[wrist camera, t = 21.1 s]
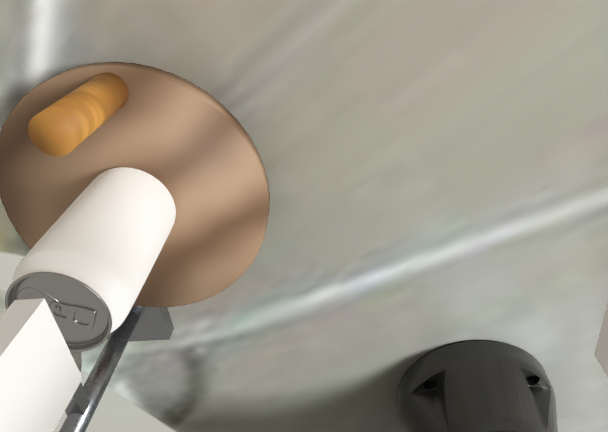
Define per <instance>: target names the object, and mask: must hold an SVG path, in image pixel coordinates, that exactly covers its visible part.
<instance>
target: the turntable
mask: <svg viewBox="0 0 608 432" xmlns="http://www.w3.org/2000/svg"><path fill="white" fill-rule="evenodd" d="M119 167H128V168H134V169H138V170H141V171H144V172H146V173H148V174H150V175H152V176H153V177H155V178H156V179H158V180H159V181H160V182H161V183H162V184H163V185H164V186H165V187H166V188H167V190H168V191H169V192H170V194H171V196H172V198H173V200H174V203H175V208H176V217H175V222H174V225H173V227H172V229H171V231H170V233H169V235H168V237H167V239H166V241H165V243H164V245H163V247H162V249H161V251H160V253H159V255H158V257H157V259H156V261H155V263H154V265H153V267H152V269H151V271H150V273H149V275H148V277H147V279H146V281H145V283H144V285H143V287H142V289H141V291H140V293H139V295H138V297H137V299H136V301H135V302H134V304H133V305H135V306H142V307H174V306H181V305H187V304H191V303H195V302H199V301H201V300H204V299H206V298H209V297H212V296H213V295H215V294H217V293H219V292H221V291H223V290H224V289H226V288H227V287H229V286H230V285H231V284H233V283H234V282H235V281H236V280H237V279H238V278H240V277H241V276H242V275H243V274H244V273H245V271H246V270H247V269H248V268H249V266H250V265H251V264H252V262H253V261H254V259H255V257H256V255H257V253H258V252H259V250H260V247H261V244H262V241H263V239H264V236H265V231H266V226H267V221H268V215H269V201H270V196H269V187H268V180H267V176H266V172H265V169H264V165H263V163H262V160H261V158H260V155H259V153H258V151H257V149H256V147H255V145H254V144H253V142H252V140H251V138H250V137H249V135H248V133H247V132H246V131H245V129H244V128H243V127H242V126H241V124H240V123H239V122H238V120H237V119H236V118H235V117H234V116H233V115H232V114H231V113H230V112H229V111H228V110H227V109H226V108H225V107H224V106H223V105H222V104H221V103H220V102H218V101H217V100H216V99H215V98H213V97H212V96H211V95H210V94H208V93H207V92H205V91H204V90H202V89H201V88H199V87H197V86H196V85H194V84H193V83H191V82H189V81H187V80H185V79H183V78H181V77H179V76H177V75H174V74H172V73H169V72H166V71H163V70H160V69H157V68H154V67H150V66H145V65H140V64H135V63H124V62H103V63H93V64H88V65H83V66H78V67H75V68H73V69H70V70H67V71H65V72H62V73H60V74H58V75H56V76H54V77H53V78H51V79H49V80H47V81H45V82H44V83H42V84H40V85H38V86H37V87H35V88H34V89H33V90H31V91H30V92H29V93H28V94H27V95H25V96H24V97H23V98H22V99H21V100H20V101H19V102H18V104H17V105H16V106H15V107H14V108H13V110H12V111H11V113H10V114H9V116H8V118H7V119H6V121H5V123H4V125H3V128H2V130H1V133H0V196H1V200H2V203H3V205H4V207H5V210H6V212H7V214H8V217H9V218H10V220H11V222H12V224H13V225H14V227H15V229H16V231H17V232H18V233H19V235H20V236H21V237H22V239H23V240H24V241H25V243H26V244H27V245H28V246H29V248H30V249H32V248H33V247H34V245H35V244H36V243H37V242H38V241H39V240H40V239H41V238H42V236H43V235H44V234H45V233H46V232H47V231H48V230H49V229H50V227H51V226H52V225H53V224H54V223H55V222H56V221H57V220H58V219H59V217H60V216H61V215H62V214H63V213H64V212H65V211H66V210H67V209H68V207H69V206H70V205H71V204H72V203H73V202H74V201H75V200H76V199H77V198H78V196H79V195H80V194H81V193H82V192H83V191H84V190H85V189H86V188H87V187H88V186H89V184H90V183H91V182H92V181H93V180H94V179H95V178H96V177H97V176H99V175H100V174H101V173H103V172H105V171H107V170H109V169H113V168H119Z"/></svg>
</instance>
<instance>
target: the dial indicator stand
mask: <svg viewBox="0 0 608 432" xmlns="http://www.w3.org/2000/svg"><path fill="white" fill-rule="evenodd" d="M173 329H174V328H173V325H172V322H171V319H170V315H169V312H168V309H167V307H142V306H135V305H133V306H132V308H131V310H130V312H129V314H128V315H127V317H126V319H125V320H124V322H123V323H122V324H121V325H120V326H119V327H118V328H117V329H116V330H115V331H113V332H112V333H110V334H109V336H108V338H107V339H108V341H107V343H106V345H105V347H104V348H103V350H102V352H101V354H100V356H99V358H98V360H97V362H96V364H95V365H94V367H93V369H92V371H91V373H90V375H89V377H88V379H87V381H86V383H85V384H84V386H82V384H81V382H80V384H79V386H78V388H77V389H76V391H75V393H74V395H73V397H72V399H71V401H70V402H69V404H68V406H67V408H66V410H65V412H66V414H67V418H66V420H65V422H64V424H63V426H62V428H61V429H60V431H59V432H85V430H86V428H87V426H88V424H89V422H90V420H91V418H92V416H93V414H94V412H95V410H96V408H97V405H98V403H99V401H100V399H101V397H102V395H103V393H104V391H105V389H106V387H107V385H108V383H109V381H110V378H111V376H112V374H113V372H114V370H115V368H116V366H117V364H118V362H119V360H120V358H121V356H122V353H123V351H124V349H125V347H126V345H127V343H128V341H147V340H166V339H170V337H171V334H172V331H173ZM70 353H71V355H72V357H73V359H74V361H75V363H76V365H77V367H78V369H79V371H80V372H81V362H82V359H81V352H70Z"/></svg>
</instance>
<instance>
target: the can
mask: <svg viewBox="0 0 608 432" xmlns="http://www.w3.org/2000/svg"><path fill="white" fill-rule="evenodd" d="M175 217H176V208H175V203H174V200H173V198H172V196H171V194H170V192H169V191H168V190H167V188H166V187H165V186H164V185H163V184H162V183H161V182H160V181H159V180H158V179H156V178H155V177H153V176H152V175H150V174H148V173H146V172H144V171H141V170H138V169H134V168H128V167H119V168H113V169H109V170H107V171H105V172H103V173H101V174H100V175H99V176H97V177H96V178H95V179H94V180H93V181H92V182H91V183H90V184H89V186H88V187H87V188H86V189H85V190H84V191H83V192H82V193H81V194H80V195H79V196H78V198H77V199H76V200H75V201H74V202H73V203H72V204H71V205H70V206H69V207H68V209H67V210H66V211H65V212H64V213H63V214H62V215H61V216H60V217H59V219H58V220H57V221H56V222H55V223H54V224H53V225H52V226H51V227H50V229H49V230H48V231H47V232H46V233H45V234H44V235H43V236H42V238H41V239H40V240H39V241H38V242H37V243H36V244H35V245H34V247H33V248H32V249H31V250H30V251H29V252H28V253H27V255H26V256H25V257H24V258H23V259H22V261H21V262H20V264H19V265H18V267H17V268H16V270H15V273H14V277H13V283H12V284H11V285H10V287H9V289H8V290H7V293H6V297H5V305H6V310H7V309H8V308H9V306H10V305H11V304H12V303H13V302H14V300H25V299H42V298H45V300H46V302H47V304H48V306H49V309H50V311H51V313H52V315H53V317H54V319H55V321H56V323H57V325H58V327H59V330H60V332H61V334H62V336H63V338H64V340H65V342H66V344H67V346H68V348H69V350H70V352H82V351H87V350H91V349H93V348H96V347H97V346H99V345H101V344H102V343H103V342H104V341H105V340H106V339H107V338H108V336H109V334H110V333H112V332H113V331H115V330H116V329H117V328H118V327H119V326H120V325H121V324H122V323H123V322H124V320H125V319H126V317H127V315H128V314H129V312H130V310H131V308H132V306H133V304H134V302H135V301H136V299H137V297H138V295H139V293H140V291H141V289H142V287H143V285H144V283H145V281H146V279H147V277H148V275H149V273H150V271H151V269H152V267H153V265H154V263H155V261H156V259H157V257H158V255H159V253H160V251H161V249H162V247H163V245H164V243H165V241H166V239H167V237H168V235H169V233H170V231H171V229H172V227H173V225H174V222H175Z"/></svg>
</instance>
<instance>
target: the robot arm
mask: <svg viewBox="0 0 608 432" xmlns="http://www.w3.org/2000/svg"><path fill="white" fill-rule="evenodd" d="M594 355H595V357H596V358H597V360H598V362H599V363H600V365H601V366H602V368H603V370H604V371H605V373H606V374H607V376H608V303H607V307H606V311H605V315H604V318H603V322H602V326H601V330H600V334H599V338H598V342H597V346H596V350H595V354H594ZM81 380H82V376H81V373H80V371H79V369H78V367H77V365H76V363H75V361H74V359H73V357H72V355H71V353H70V350H69V348H68V346H67V344H66V342H65V340H64V338H63V336H62V334H61V332H60V330H59V327H58V325H57V323H56V321H55V319H54V317H53V315H52V313H51V311H50V309H49V306H48V304H47V302H46V300H45V298H42V299H25V300H14V302H13V303H12V304H11V305H10V306H9V308H8V309H7V310H6V311H5V312H4V313H3V315H2V316H1V317H0V432H54V430H55V428H56V426H57V424H58V423H59V421H60V419H61V417H62V415H63V413H64V412H65V410H66V408H67V406H68V404H69V402H70V401H71V399H72V397H73V395H74V393H75V391H76V389H77V388H78V386H79V384H80V382H81ZM397 402H398V408H399V415H400V420H401V423H402V426H403V428H404V430H405V432H558V428H557V415H556V402H555V395H554V391H553V388H552V386H551V383H550V381H549V379H548V377H547V375H546V373H545V371H544V369H543V367H542V366H541V364H540V363H539V362H538V361H537V360H536V359H535V358H534V357H533V356H532V355H530V354H529V353H527V352H526V351H524V350H522V349H520V348H518V347H515V346H513V345H510V344H506V343H501V342H495V341H467V342H460V343H456V344H452V345H448V346H445V347H442V348H440V349H437V350H435V351H433V352H431V353H429V354H427V355H425V356H424V357H422V358H421V359H419V360H418V361H417V362H416V363H414V364H413V365H412V366H411V367H410V368H409V369H408V371H407V372H406V373H405V375H404V376H403V378H402V380H401V382H400V384H399V387H398V392H397Z"/></svg>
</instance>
